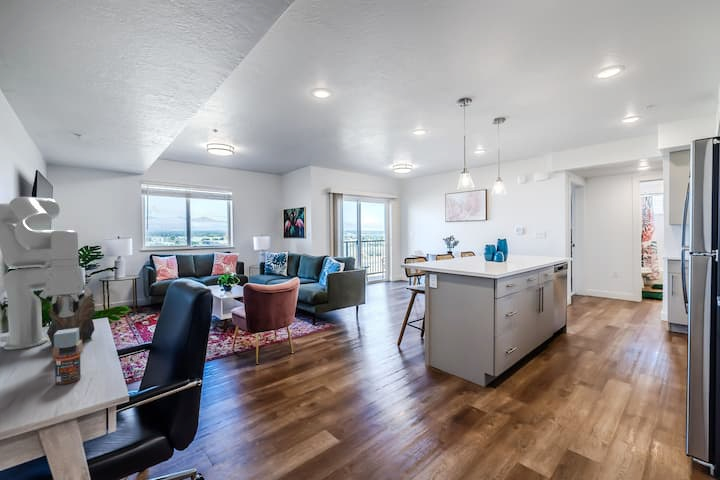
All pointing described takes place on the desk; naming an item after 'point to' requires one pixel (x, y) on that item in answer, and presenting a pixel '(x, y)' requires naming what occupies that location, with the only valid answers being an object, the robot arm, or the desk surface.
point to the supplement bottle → (67, 364)
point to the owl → (74, 319)
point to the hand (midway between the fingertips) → (66, 312)
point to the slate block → (66, 337)
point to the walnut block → (79, 347)
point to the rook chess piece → (66, 306)
